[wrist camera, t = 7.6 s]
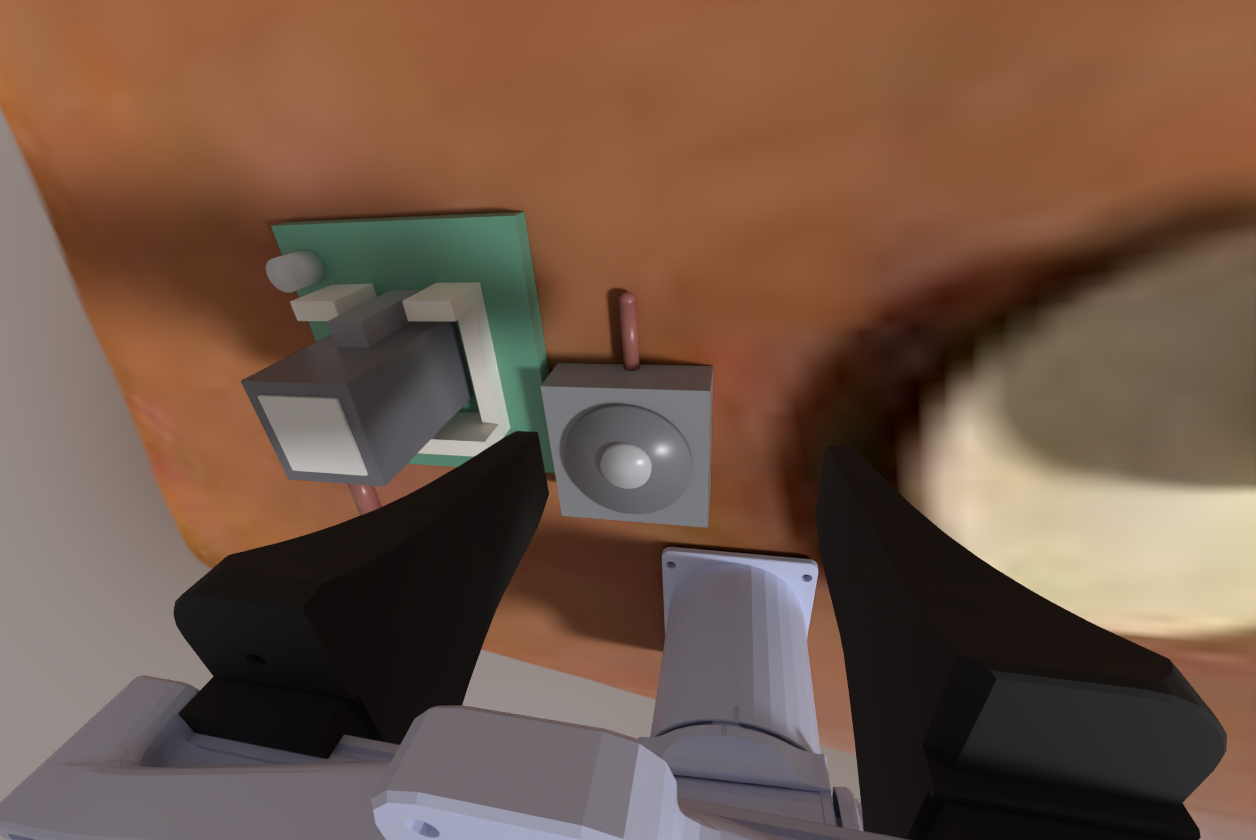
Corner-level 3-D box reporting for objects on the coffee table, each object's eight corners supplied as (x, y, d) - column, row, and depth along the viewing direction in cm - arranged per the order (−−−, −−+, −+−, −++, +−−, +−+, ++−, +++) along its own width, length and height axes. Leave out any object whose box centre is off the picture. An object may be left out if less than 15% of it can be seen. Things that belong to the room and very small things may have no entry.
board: (562, 461, 26) (540, 505, 23) (374, 450, 28) (331, 489, 25) (524, 211, 20) (486, 227, 17) (288, 222, 22) (219, 237, 19)
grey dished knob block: (710, 494, 25) (706, 536, 23) (575, 485, 27) (558, 523, 24) (714, 288, 20) (710, 312, 18) (547, 290, 22) (521, 313, 19)
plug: (485, 445, 25) (405, 547, 19) (413, 441, 26) (314, 538, 20) (448, 289, 21) (333, 356, 15) (364, 290, 22) (223, 353, 16)
